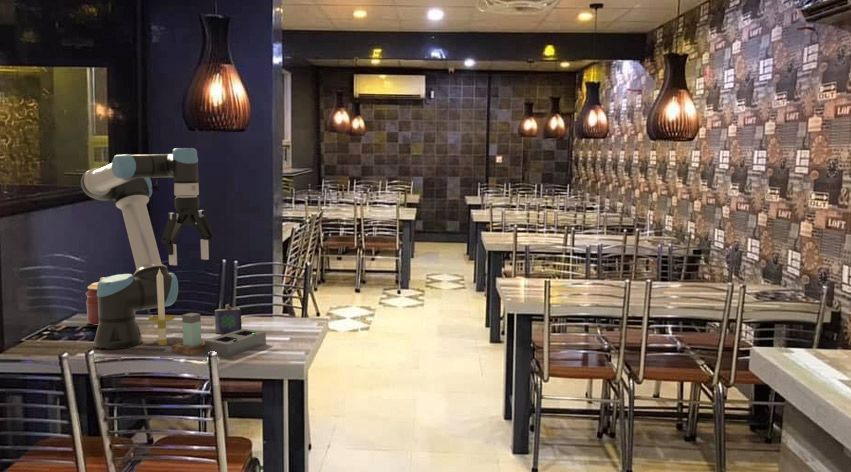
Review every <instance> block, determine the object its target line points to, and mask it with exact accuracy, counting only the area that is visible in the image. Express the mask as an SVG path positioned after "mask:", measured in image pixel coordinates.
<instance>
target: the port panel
mask: <svg viewBox="0 0 851 472" xmlns="http://www.w3.org/2000/svg"><path fill="white" fill-rule="evenodd" d="M266 334H267V332H266V331H261V330H254V329H247V328H242V329H240V330H237V331H234V332H231V333H227V334H222V335H218V336H215V337H211V338H208V339H205V340H203V341H204V342H205V352H204V354H208V352H210V351H215V352H217V354H218V355H219V357H224V358H230V357H234V356H236V355H238V354H241V353H245V352H248V351H251V350H254V349H256V348H259V347H262V346H265V345H267V336H266ZM208 355H209V354H208ZM218 355H217V356H218Z"/></svg>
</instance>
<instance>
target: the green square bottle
mask: <svg viewBox="0 0 851 472" xmlns="http://www.w3.org/2000/svg"><path fill="white" fill-rule="evenodd" d="M181 318H182V319H181V321H182V342H183V345H185V346H191V347H193V346H196V345H199V344H201V341H202V326H201V325H202V324H201V313H197V312H196V313H195V312H188V313H185V314H182V315H181Z"/></svg>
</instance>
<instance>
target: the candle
mask: <svg viewBox="0 0 851 472" xmlns="http://www.w3.org/2000/svg"><path fill="white" fill-rule="evenodd" d="M156 277H157V300H158V308H157V315H153V316H151V317H148V321H149V322H153V323H157V331H158V332H157V333H158V334H157V335H158V336H157V337H158V345H159V346H165V345H167V323H166V322H169V321H172V320H174V319H175V318H176V317H175V316H174V315H171V314H166V312H165V311H166V309H165V307H166V306H165V307H164V284H163V275H162V273H161V271H160V268H159V272H158V274H157V275H156Z"/></svg>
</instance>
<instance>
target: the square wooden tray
mask: <svg viewBox="0 0 851 472" xmlns="http://www.w3.org/2000/svg"><path fill="white" fill-rule="evenodd" d="M171 352H172V353H174V354H175V353H176V354H181V355H187V356H193V357H194V356H195V355H198V354H199V355H200V354H202V353H205V342H204V340H201V344H199V345H196V346H193V347H191V346H185V345H183V341H182V342H179V343H175V344H172V345H171Z"/></svg>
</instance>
